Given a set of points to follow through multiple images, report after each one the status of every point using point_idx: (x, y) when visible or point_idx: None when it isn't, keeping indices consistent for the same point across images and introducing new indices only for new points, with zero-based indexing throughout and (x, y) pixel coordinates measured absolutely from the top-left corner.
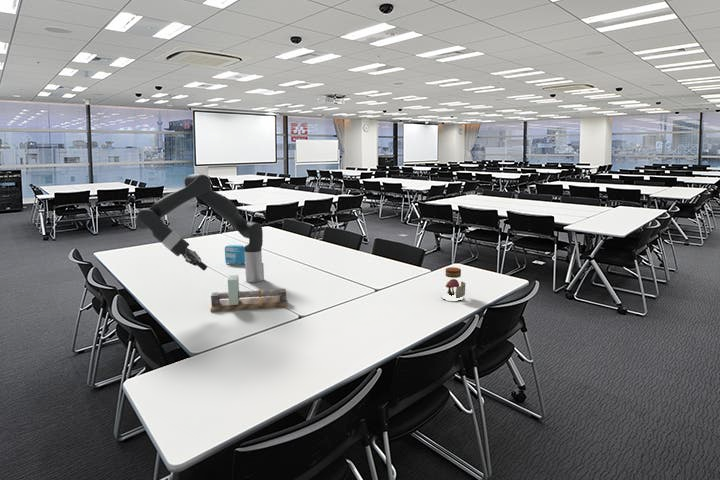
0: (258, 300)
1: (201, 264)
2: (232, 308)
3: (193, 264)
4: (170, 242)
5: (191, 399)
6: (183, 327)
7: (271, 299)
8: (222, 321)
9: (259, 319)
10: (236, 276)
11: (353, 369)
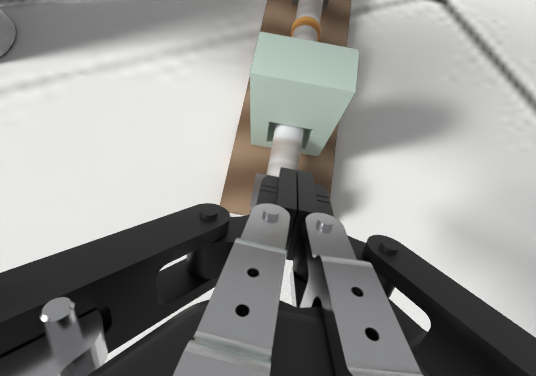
0: None
1: (332, 214)
2: (334, 151)
3: (402, 317)
4: None
5: None
6: None
7: (289, 26)
8: (432, 195)
9: (435, 90)
10: (289, 43)
11: None
